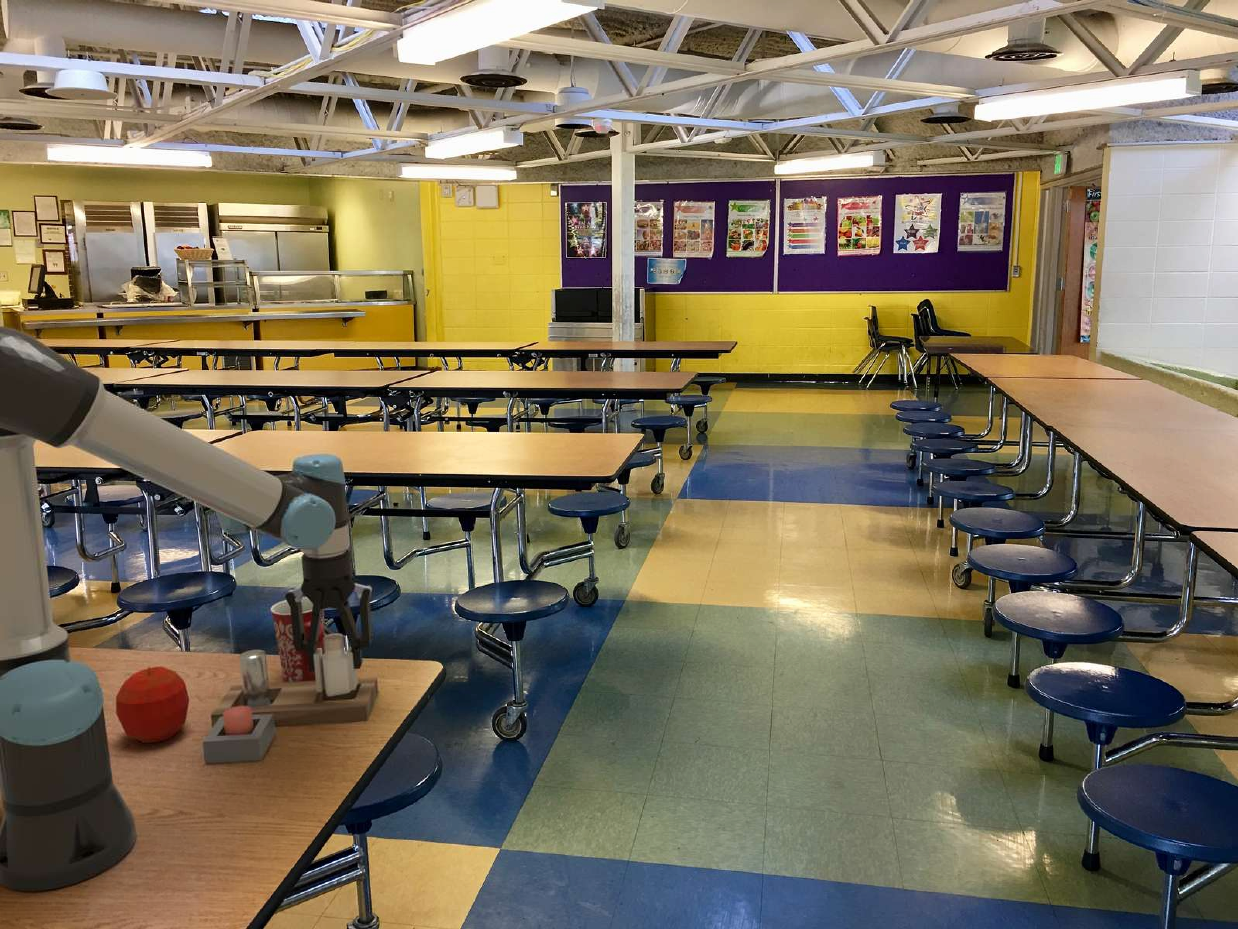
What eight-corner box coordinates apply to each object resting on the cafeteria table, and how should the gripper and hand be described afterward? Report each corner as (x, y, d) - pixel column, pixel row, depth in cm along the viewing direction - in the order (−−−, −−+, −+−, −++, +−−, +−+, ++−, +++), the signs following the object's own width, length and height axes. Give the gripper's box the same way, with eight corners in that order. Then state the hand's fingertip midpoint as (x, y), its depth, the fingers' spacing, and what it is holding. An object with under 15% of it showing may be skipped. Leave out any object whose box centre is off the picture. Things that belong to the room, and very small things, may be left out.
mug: (269, 676, 169) (262, 604, 166) (318, 662, 175) (312, 593, 172) (297, 699, 159) (290, 623, 157) (347, 684, 165) (341, 610, 162)
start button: (250, 748, 141) (247, 717, 140) (222, 750, 141) (219, 718, 140) (258, 735, 145) (254, 705, 144) (231, 737, 144) (227, 706, 143)
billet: (267, 716, 153) (261, 658, 151) (241, 718, 153) (235, 660, 151) (273, 705, 157) (268, 649, 155) (249, 707, 157) (243, 650, 155)
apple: (167, 715, 154) (159, 649, 152) (206, 729, 149) (198, 661, 147) (107, 742, 146) (97, 672, 144) (146, 757, 141) (137, 685, 138)
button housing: (261, 760, 139) (258, 738, 139) (205, 763, 139) (202, 741, 138) (275, 734, 147) (273, 713, 146) (222, 737, 146) (220, 716, 146)
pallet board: (367, 720, 151) (365, 706, 151) (212, 729, 149) (210, 714, 149) (378, 691, 162) (377, 677, 161) (234, 699, 160) (232, 685, 159)
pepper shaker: (352, 693, 155) (347, 639, 153) (326, 698, 153) (321, 643, 151) (349, 684, 158) (344, 630, 156) (324, 688, 157) (319, 634, 155)
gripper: (385, 542, 155) (395, 675, 160) (275, 547, 154) (288, 681, 158) (378, 555, 148) (388, 694, 152) (262, 560, 146) (276, 701, 151)
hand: (337, 687), depth 155 cm, fingers closed on pepper shaker, 5 cm apart
